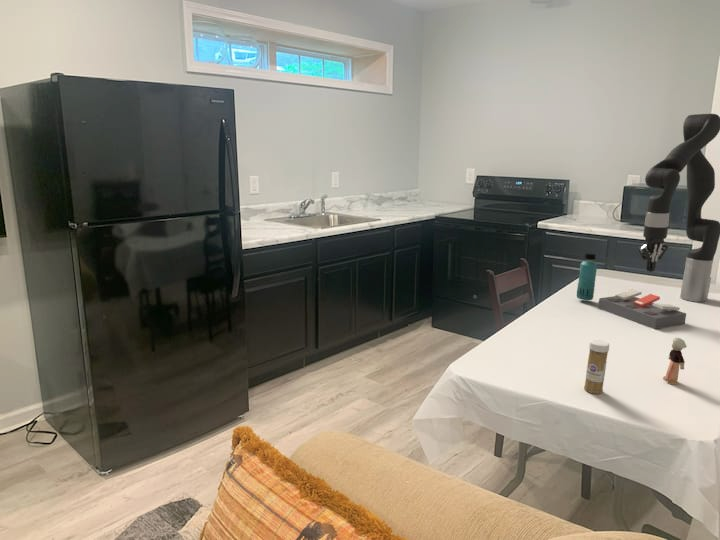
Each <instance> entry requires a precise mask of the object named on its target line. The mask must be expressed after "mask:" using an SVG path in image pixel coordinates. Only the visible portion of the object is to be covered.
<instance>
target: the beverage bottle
mask: <svg viewBox="0 0 720 540" xmlns="http://www.w3.org/2000/svg"><path fill="white" fill-rule="evenodd" d="M583 259H585V260H583V261H582V262H581V263H580V264H579V265H580V266H579V267H580V268H579V272H578V282H577V289H576V298H577V299H579V300H583V301H592V300H593V299H594V294H595V285H596V279H597V270H598V263H596V262H595V261H594V260H596V253H594V252H593V253H592V252H584V257H583Z"/></svg>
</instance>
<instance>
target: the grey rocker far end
mask: <svg viewBox="0 0 720 540" xmlns="http://www.w3.org/2000/svg"><path fill="white" fill-rule="evenodd" d="M652 306H655V307H658V308H661V309H664V310H667V311H671V310H677V311H680V309H681V307H679V306H675V305H672V304H668V303H667V304H666V303H659V302H658V303H656V302H653V305H652Z"/></svg>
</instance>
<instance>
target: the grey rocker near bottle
mask: <svg viewBox="0 0 720 540" xmlns="http://www.w3.org/2000/svg"><path fill="white" fill-rule="evenodd" d="M640 295H642V291H639V290H637V289H633V288H632V289H630V290H627V291H623V292H620V293H618V294H615V295H614V296H615V298H618V299H621V300H627V299H633V298H634V297H638V296H640Z"/></svg>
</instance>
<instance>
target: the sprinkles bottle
mask: <svg viewBox="0 0 720 540" xmlns="http://www.w3.org/2000/svg"><path fill="white" fill-rule="evenodd" d="M588 348H589V353H588V358H587V366H586V371H585V372H586V373H585V382H584V387H583V388H584V390H585V391H586V392H588V393H591V394H593V395H598V394H602V393H603V388H604V381H605V375H606V369H607V358H608V353H609V351H610V343H609V342H607V341H605V340H602V339H592V340H590V341H589V347H588Z"/></svg>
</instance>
